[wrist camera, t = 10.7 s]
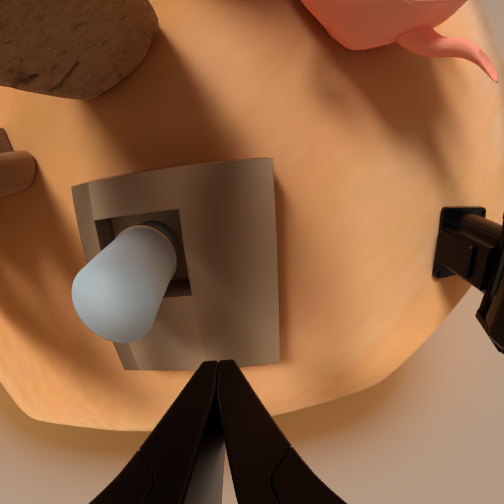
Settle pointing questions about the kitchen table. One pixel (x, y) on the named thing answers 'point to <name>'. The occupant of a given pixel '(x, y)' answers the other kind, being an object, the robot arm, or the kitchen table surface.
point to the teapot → (397, 27)
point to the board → (198, 259)
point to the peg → (126, 282)
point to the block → (73, 44)
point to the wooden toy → (14, 168)
